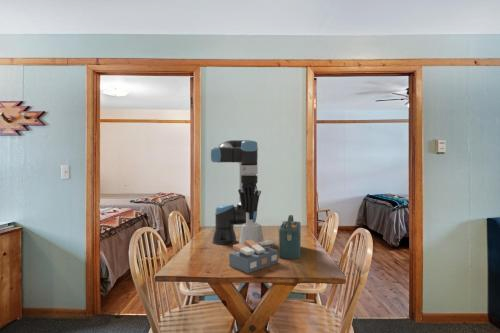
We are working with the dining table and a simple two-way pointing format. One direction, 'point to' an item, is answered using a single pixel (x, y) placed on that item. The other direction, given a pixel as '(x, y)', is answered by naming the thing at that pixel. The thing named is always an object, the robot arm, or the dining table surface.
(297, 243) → the radio
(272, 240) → the rocker far
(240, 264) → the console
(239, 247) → the rocker near
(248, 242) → the rocker mid
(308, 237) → the dining table surface
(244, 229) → the vase
